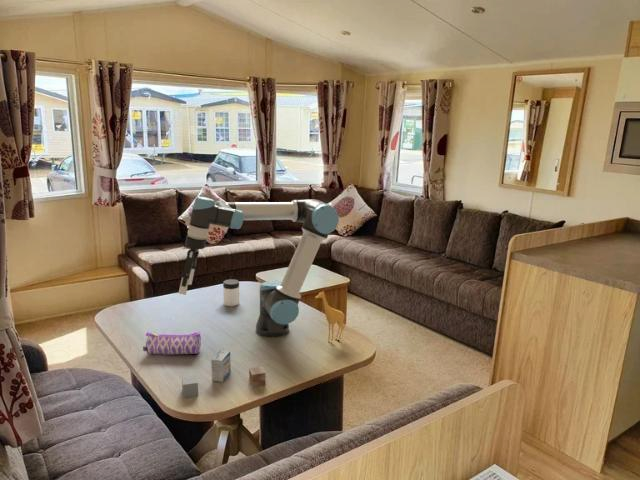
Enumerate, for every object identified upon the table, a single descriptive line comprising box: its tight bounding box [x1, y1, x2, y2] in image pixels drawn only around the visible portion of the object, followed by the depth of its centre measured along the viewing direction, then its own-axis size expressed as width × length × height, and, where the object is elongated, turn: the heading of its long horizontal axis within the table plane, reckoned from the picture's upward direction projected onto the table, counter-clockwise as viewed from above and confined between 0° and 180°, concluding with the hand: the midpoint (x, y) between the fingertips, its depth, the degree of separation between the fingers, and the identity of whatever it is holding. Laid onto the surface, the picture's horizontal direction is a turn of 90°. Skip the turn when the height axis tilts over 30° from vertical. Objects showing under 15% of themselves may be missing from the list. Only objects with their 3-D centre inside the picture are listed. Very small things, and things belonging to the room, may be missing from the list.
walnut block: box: [248, 365, 267, 388], centre depth 175 cm, size 5×5×5 cm
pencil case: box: [142, 331, 202, 356], centre depth 194 cm, size 22×9×10 cm, turn 95°
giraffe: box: [314, 290, 346, 341], centre depth 205 cm, size 16×4×25 cm, turn 125°
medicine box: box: [210, 350, 232, 383], centre depth 178 cm, size 8×4×9 cm, turn 168°
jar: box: [222, 278, 240, 307], centre depth 247 cm, size 9×8×12 cm
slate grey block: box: [181, 375, 199, 398], centre depth 167 cm, size 5×5×5 cm
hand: (185, 288), depth 186 cm, fingers open, 13 cm apart
